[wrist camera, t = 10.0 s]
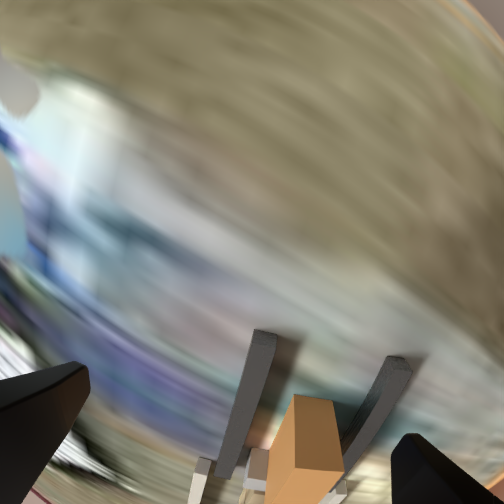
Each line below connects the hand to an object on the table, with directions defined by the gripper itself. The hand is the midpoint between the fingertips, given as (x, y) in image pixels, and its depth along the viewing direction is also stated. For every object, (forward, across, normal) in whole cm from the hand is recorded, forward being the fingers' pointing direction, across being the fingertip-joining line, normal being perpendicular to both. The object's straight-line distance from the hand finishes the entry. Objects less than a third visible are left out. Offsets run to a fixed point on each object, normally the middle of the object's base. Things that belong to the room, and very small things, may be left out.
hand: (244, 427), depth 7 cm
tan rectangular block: (+12, -5, +11) cm, 17 cm away
